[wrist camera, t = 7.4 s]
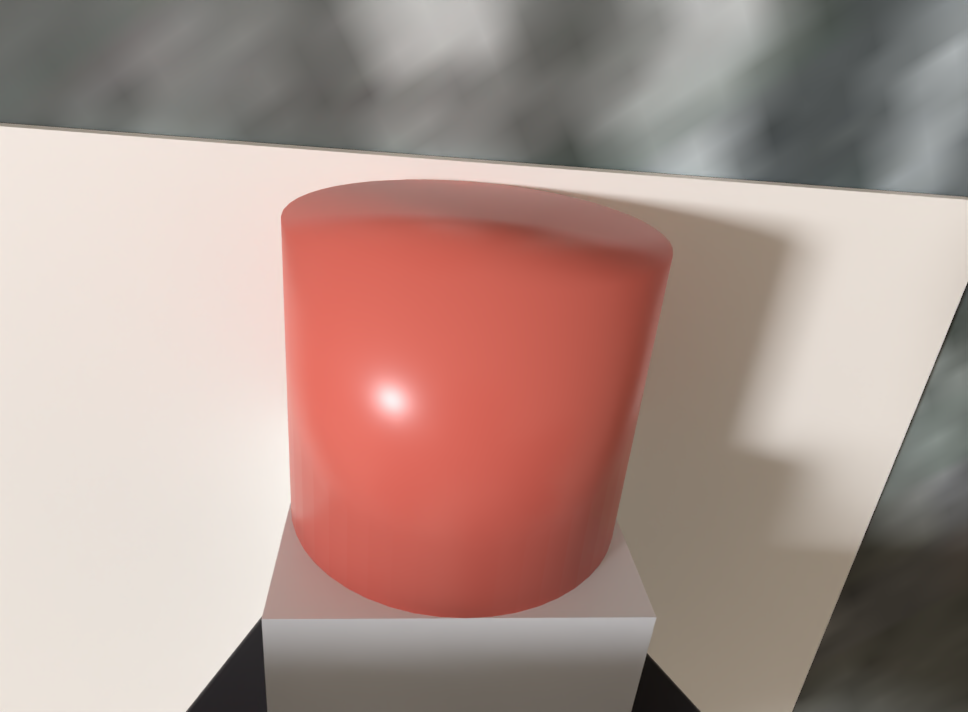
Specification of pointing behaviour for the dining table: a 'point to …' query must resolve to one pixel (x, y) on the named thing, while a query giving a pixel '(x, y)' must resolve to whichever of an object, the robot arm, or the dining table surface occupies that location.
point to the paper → (264, 414)
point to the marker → (460, 450)
